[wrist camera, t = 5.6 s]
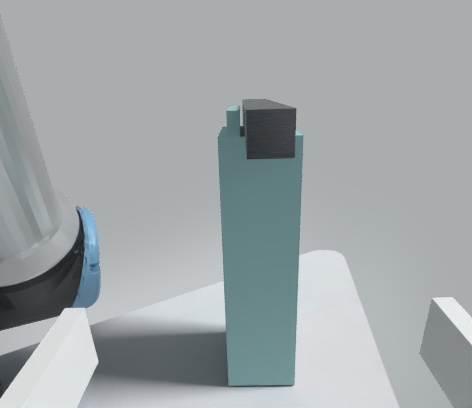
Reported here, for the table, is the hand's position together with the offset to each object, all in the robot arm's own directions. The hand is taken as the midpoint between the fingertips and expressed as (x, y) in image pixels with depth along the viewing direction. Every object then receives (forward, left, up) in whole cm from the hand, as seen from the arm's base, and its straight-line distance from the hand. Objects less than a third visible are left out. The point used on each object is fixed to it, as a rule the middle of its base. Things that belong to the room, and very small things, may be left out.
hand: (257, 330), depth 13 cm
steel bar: (-8, +22, +5) cm, 24 cm away
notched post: (-10, +24, -25) cm, 36 cm away
